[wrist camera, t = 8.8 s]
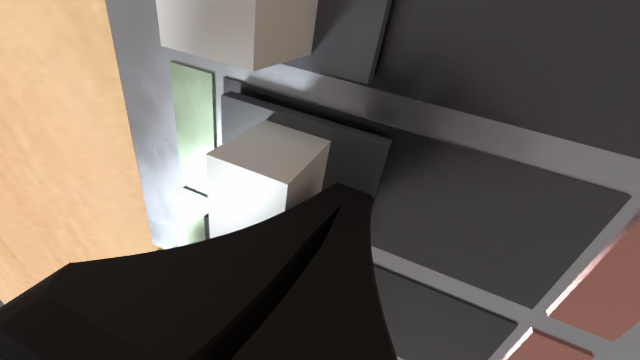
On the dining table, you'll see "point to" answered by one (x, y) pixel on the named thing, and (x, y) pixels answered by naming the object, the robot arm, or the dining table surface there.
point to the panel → (447, 166)
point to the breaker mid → (282, 161)
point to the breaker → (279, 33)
